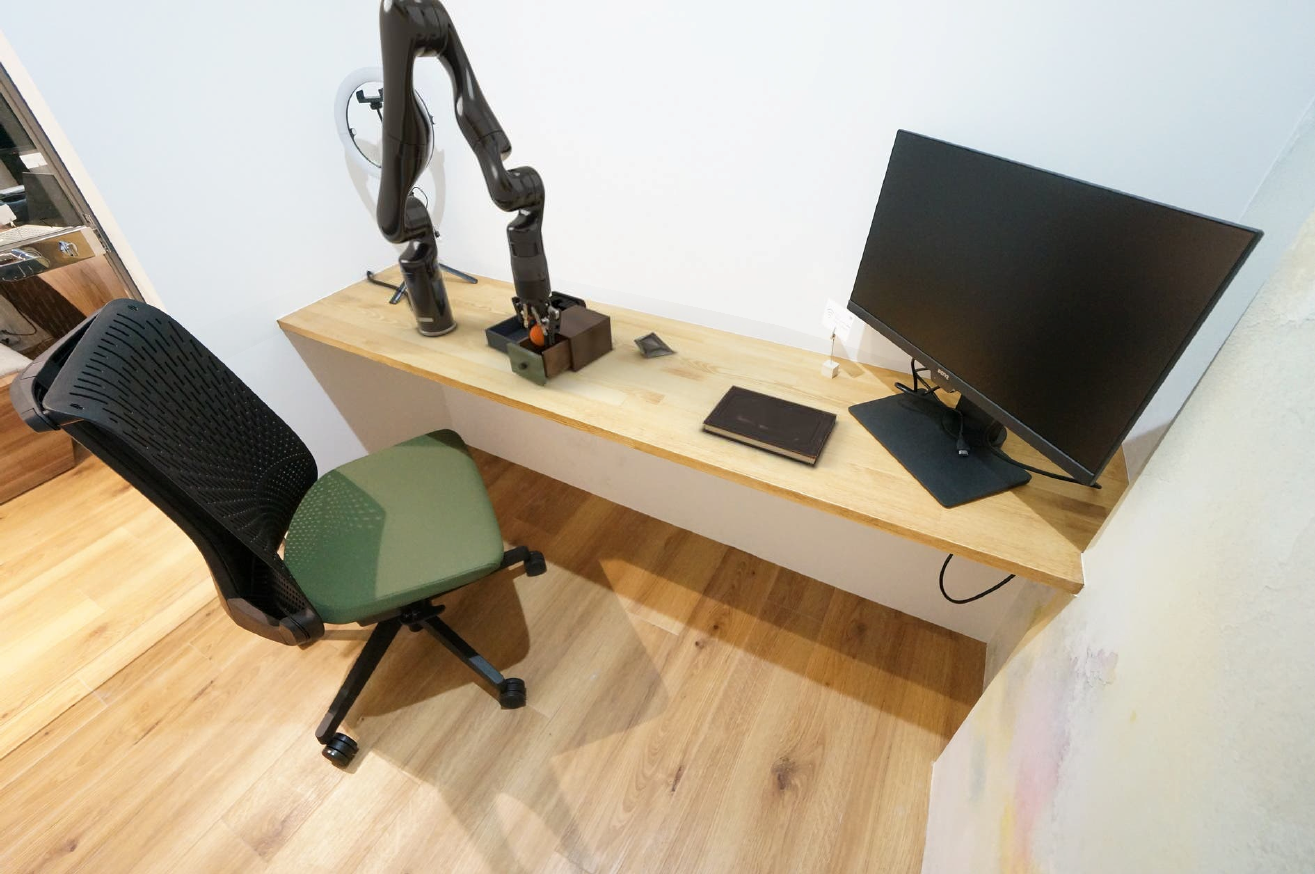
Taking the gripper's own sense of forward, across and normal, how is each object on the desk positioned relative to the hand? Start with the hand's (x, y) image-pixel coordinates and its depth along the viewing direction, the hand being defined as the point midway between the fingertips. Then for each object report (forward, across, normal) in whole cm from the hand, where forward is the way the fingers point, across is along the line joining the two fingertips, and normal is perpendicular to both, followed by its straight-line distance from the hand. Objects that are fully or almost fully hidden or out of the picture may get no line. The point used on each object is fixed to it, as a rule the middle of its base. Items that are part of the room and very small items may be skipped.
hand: (542, 344), depth 122 cm
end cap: (+7, -16, +22) cm, 29 cm away
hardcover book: (+7, +53, +12) cm, 55 cm away
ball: (-2, 0, 0) cm, 2 cm away
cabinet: (+7, 0, +10) cm, 13 cm away
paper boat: (+7, +16, +20) cm, 27 cm away
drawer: (+6, 0, 0) cm, 6 cm away
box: (+7, -14, +6) cm, 17 cm away
